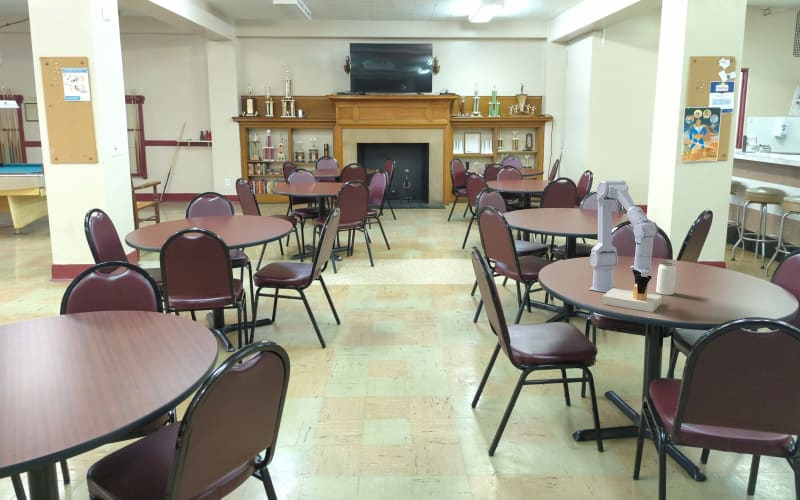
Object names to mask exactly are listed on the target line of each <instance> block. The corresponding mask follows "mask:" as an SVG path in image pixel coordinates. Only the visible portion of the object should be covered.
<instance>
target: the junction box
mask: <svg viewBox="0 0 800 500" xmlns="http://www.w3.org/2000/svg"><path fill="white" fill-rule="evenodd" d="M633 291H634V290H628V289H624V288H623V289H622V288H616V287H615V288H612V289H611V290H610V291H608V292H607V293H606V292H605V294H603V295H602V297H601V304H603V305H608V306H613V307H617V308H618V307H619V308H625V309H632V310H636V311H642V312H643V311H644V312H648V313H653V312H654V311H656V309H658V307H659V306H660V305H661V304H662V300H663V299H662V297H663V295H662V294H654V293H648V292H647V299H646V300H636V299H634V298H633Z"/></svg>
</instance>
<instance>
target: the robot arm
mask: <svg viewBox="0 0 800 500" xmlns="http://www.w3.org/2000/svg"><path fill="white" fill-rule="evenodd" d="M596 201H597V244H596V245H594V246H593V247H592V248H591V250H590V252H591V253H590V256H589V264H590V265H591V268H593V273H592V286H591V287H589V288H588V290H589V291H594V292H601V293H605V294H606V293H607V292H608V291H610V290H611V289H612V288H616V287H615V286H614V278H615V277H614V275H615V272H614V269H615V267H616V266H618V263H619V255H618V249H617V248H616V246H614V245H613V244H612V242H613V241H612V239H613V237H612V233H613V230H612V229H613V228H612V227H613V226H612V225H613V224H612V223H613V213H612V211H613V210H612V209H613V204H614V203H615V202H616V201H618V202H619V203H620V204H621V205H622V207H623V208H624V209H625V210H626V217H627V219H628V220H629V222H630V224H631V225H632V227H633V235H634V241H635V253H634V261H633V265H630V267H629V268H630V269H632V270H631V272H632V273H633V276H634V284H637V290H638V294H644V293H645V291H646V287H647V285H649V282H650V281H651V280H652V277H653V276H652V275H648V274H649V273H650V272H651V271H652V258H653V247H654V239H655V238H657V235H658V233H659V226H658V224H657V223H656V222H655V221H652V220H650V219H649V218H648V217H647V214H645V212H644V210H643V209H642V207H640V206H636V204H635V202H634V200H633V199H632V197H631V195H630V194H629V185H628V184H627V182H626V181H625V180H624V179H622V180H621V179H620V180H604V179H603V180H601V181H599V183H598V184H597V186H596Z"/></svg>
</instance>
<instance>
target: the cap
mask: <svg viewBox="0 0 800 500" xmlns="http://www.w3.org/2000/svg"><path fill="white" fill-rule="evenodd" d="M648 285H649V284H648ZM648 285H647V287H646V291H645V293H644V294H638V290H637V284H635V283H634V286H633V290H632V291H633V298H634V299H636V300H646V299H647V293H648V287H649V286H648Z"/></svg>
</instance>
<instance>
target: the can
mask: <svg viewBox="0 0 800 500" xmlns="http://www.w3.org/2000/svg"><path fill="white" fill-rule="evenodd" d="M657 268H658V270H657V277H656V287H655V288H656V289H655V291H656V293H657V295H661V296H672V295H674V292H675V283H676V275H677V274H676V273H677V267H676V263H673V262H670V261H669V262H668V261H662V262H660V263H659V265H658V267H657Z"/></svg>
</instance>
